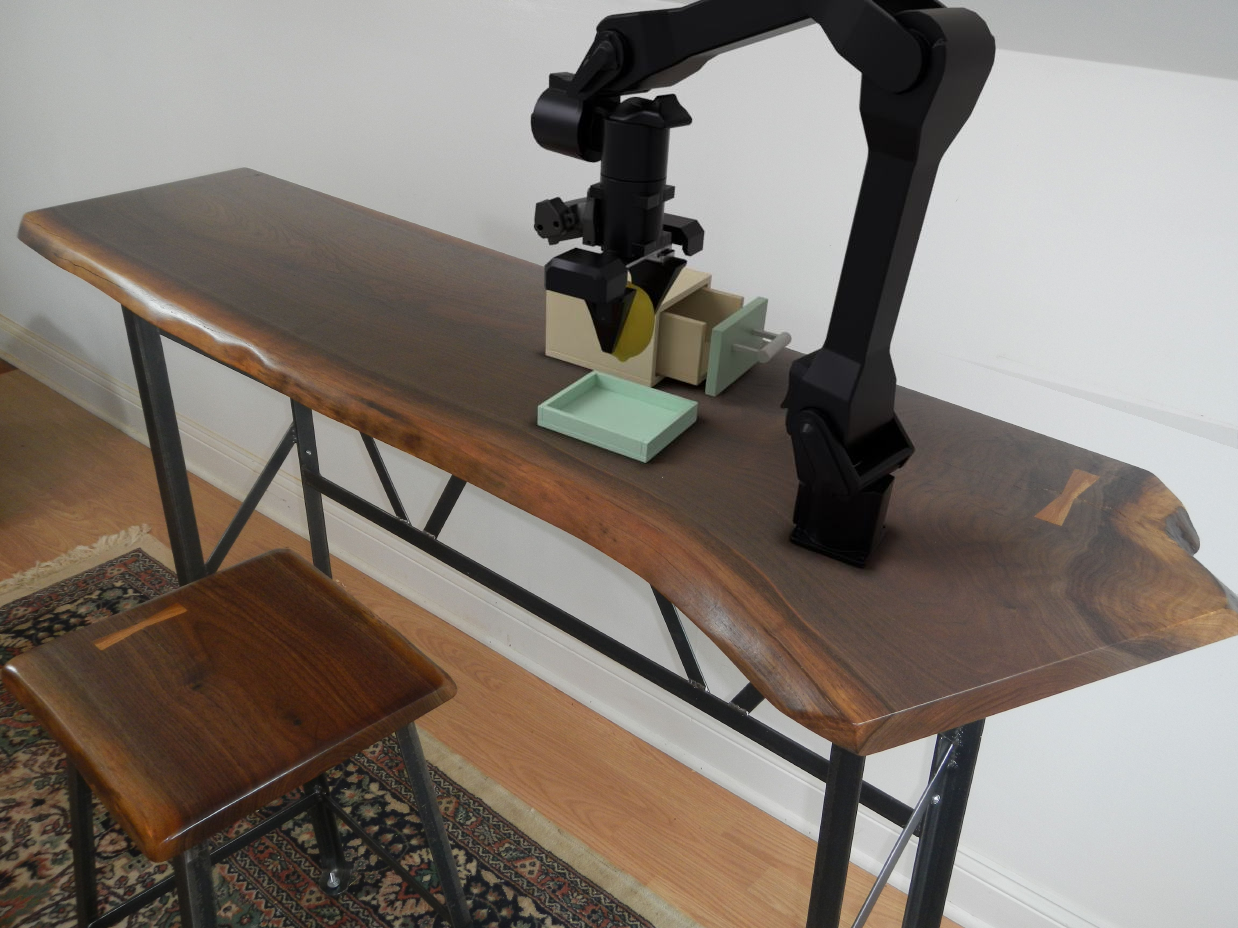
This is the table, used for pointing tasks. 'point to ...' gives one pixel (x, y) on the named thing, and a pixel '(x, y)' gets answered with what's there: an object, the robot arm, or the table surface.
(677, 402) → the tray
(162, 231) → the table surface
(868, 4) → the robot arm
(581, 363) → the cabinet
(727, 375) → the drawer
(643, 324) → the lemon
